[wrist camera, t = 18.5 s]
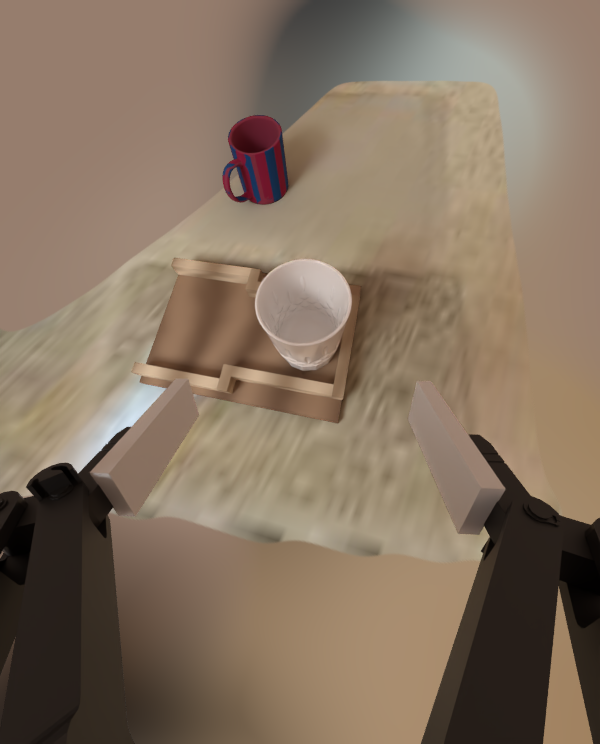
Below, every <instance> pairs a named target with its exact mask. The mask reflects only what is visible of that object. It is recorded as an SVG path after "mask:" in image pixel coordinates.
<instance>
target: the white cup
mask: <svg viewBox="0 0 600 744" xmlns="http://www.w3.org/2000/svg"><path fill="white" fill-rule="evenodd" d="M351 306H352V295H351V290H350V287H349V285H348V283H347V281H346V279H345V278H344V276H343V275H342V274H341V273H340V272H339V271H338V270H337V269H336V268H334V267H333V266H331V265H329V264H327V263H325V262H322V261H319V260H314V259H296V260H292V261H288V262H286V263H283V264H281V265H279V266H278V267H276V268H274V269H273V270H272V271H271V272H270V273H268V274H267V276H266V277H265V278H264V279H263V281H262V282H261V284H260V286H259V288H258V290H257V293H256V298H255V310H256V315H257V318H258V320H259V322H260V324H261V326H262V327H263V329H264V330H265V332H266V334H267V335H268V337H269V338H270V340H271V341H272V343H273V345H274V346H275V348H276V349H277V350H278V352H279V353H280V354H281V356H282V357H283V358H284V359H285V360H286V361H287V362H288V363H289V364H290V365H291V366H292V367H295V368H297V369H300V370H302V371H309V370H317V369H319V368H321V367H323V366H325V365H327V364H328V363H329V361H330V360H331V359H332V357H333V356H334V355H335V353H336V350H337V348H338V346H339V343H340V340H341V338H342V335H343V333H344V329H345V326H346V323H347V320H348V317H349V314H350V311H351Z"/></svg>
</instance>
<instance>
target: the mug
mask: <svg viewBox="0 0 600 744" xmlns="http://www.w3.org/2000/svg"><path fill="white" fill-rule="evenodd" d="M228 142H229V145H230V148H231V152H232V155H233V158H234V160H232V161H230V162H229V163H228V164H227V166H226V167H225V168H224V171H223V184H224V188H225V191H226V193H227V195H228V196H229V197H230V198H231V199H232V200H234V201H236V202H245V201H247V200H250V201H252V202H254V203H257V204H270V203H273V202H276V201H278V200H279V199H281V198H282V197H283V196H284V194H285V193H286V191H287V189H288V178H287V169H286V161H285V153H284V145H283V137H282V130H281V126H280V125H279V123H278V122H277V121H276V120H274V119H273V118H271V117H268V116H264V115H255V116H250V117H247V118H244V119H242V120H240V121H239V122H237V123H236V124H235V125H234V126H233V127H232V129H231V130H230V132H229V136H228ZM235 167H237V171H238V174H239V178H240V181H241V184H242V187H243V191H244V194H243V195H241V196H238V197H235V196H234V195H233V193H232V191H231V188H230V174H231V171H232V170H233V169H234V168H235Z"/></svg>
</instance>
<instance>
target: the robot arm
mask: <svg viewBox="0 0 600 744" xmlns="http://www.w3.org/2000/svg"><path fill="white" fill-rule="evenodd" d="M198 416H199V413H198V409H197V406H196V403H195V399H194V396H193V393H192V389H191V386H190V383H189V379H175V380H174V381H173V382H172V383H171V385H170V386H169V387H168V388H167V389H166V390H165V391H164V392H163V393H162V394H161V395H160V397H159V398H158V399H157V400H156V401H155V402H154V403H153V404H152V405H151V406H150V407H149V409H148V410H147V411H146V412H145V413H144V414H143V415H142V416H141V417H140V418H139V419H138V420H137V422H136V423H135V424H134V425H133V426H132V427H126V428H125V429H123V430H122V431H120V432H119V433H117V434H116V435H115V436H114V437H113V438H112V439H111V440H110V441H109V442H108V444H106V445H105V446H104V447H103V448H102V451H100V452H99V453H98V454H97V455H96V456H95V457H94V458H93V459H92V460H91V461H90V462H89V463H88V464H87V465H86V466H85V467H84V468H83V469H82V470H81V471H80V472H79V473H77V472H76V470H75V469H74V468H73V466H72V465H71V464H69V463H59V464H56V465H52V466H50V467H48V468H46V469H44V470H42V471H41V472H39V473H38V474H36V475H35V476H34V477H33V478H32V479H31V480H30V481H29V483H28V484H27V486H26V488H27V489H28V490H29V491H30V492H31V493H32V494H33V495H34V496H32V497H27V498H23V497H22V496H21V495H20V494H19V493H18V492H16V491H8V492H4V493H1V494H0V554H1V552H2V551H3V552H4V553H3V555H2V557H1V558H0V674H1V672H2V669H3V667H4V664H5V661H6V659H7V657H8V654H9V651H10V649H11V646H12V644H13V641H14V639H15V636H16V639H15V644H14V650H13V656H12V663H11V668H10V674H9V680H8V686H7V692H6V698H5V704H4V709H3V715H2V721H1V727H0V744H134V741H133V739H132V736H131V734H130V731H129V728H128V723H127V715H126V702H125V691H124V679H123V667H122V656H121V645H120V632H119V620H118V608H117V597H116V585H115V574H114V563H113V550H112V538H111V526H110V519H109V517H108V513H109V512H110V511H111V509H112V508H114V510H115V511H116V513H117V514H118V516H136V515H137V513H138V512H139V510H140V508H141V507H142V505H143V504H144V502H145V500H146V499H147V497H148V496H149V494H150V492H151V491H152V489H153V488H154V486H155V484H156V483H157V481H158V480H159V478H160V476H161V475H162V473H163V472H164V470H165V469H166V467H167V465H168V464H169V462H170V461H171V459H172V457H173V456H174V454H175V453H176V451H177V449H178V448H179V446H180V445H181V443H182V441H183V440H184V438H185V437H186V435H187V433H188V432H189V430H190V429H191V427H192V425H193V424H194V422H195V421H196V419H197V418H198ZM408 420H409V423H410V425H411V427H412V430H413V432H414V434H415V436H416V439H417V441H418V443H419V446H420V448H421V450H422V452H423V455H424V457H425V459H426V462H427V464H428V466H429V468H430V471H431V473H432V475H433V478H434V480H435V482H436V484H437V487H438V489H439V491H440V493H441V496H442V498H443V500H444V503H445V505H446V507H447V509H448V512H449V514H450V516H451V519H452V521H453V523H454V525H455V528H456V530H457V532H458V534H477V535H479V534H480V532H481V530H482V529H483V527H484V526H485V528H486V530H487V532H488V534H489V536H490V537H489V539H488V541H487V542H486V544H485V545H484V547H483V548H482V550H481V552H482V553H483V556H482V559H481V562H480V565H479V568H478V571H477V574H476V577H475V580H474V583H473V586H472V589H471V592H470V595H469V598H468V601H467V604H466V608H465V611H464V614H463V617H462V620H461V623H460V626H459V629H458V632H457V635H456V638H455V641H454V644H453V647H452V650H451V654H450V656H449V660H448V662H447V666H446V669H445V672H444V675H443V678H442V681H441V684H440V687H439V690H438V693H437V696H436V699H435V702H434V705H433V709H432V711H431V715H430V717H429V721H428V724H427V727H426V730H425V733H424V736H423V739H422V742H421V744H543V736H544V726H545V717H546V707H547V696H548V687H549V677H550V666H551V656H552V646H553V635H554V626H555V616H556V606H557V596H558V586H559V589H560V593H561V598H562V603H563V607H564V612H565V616H566V621H567V625H568V630H569V634H570V639H571V644H572V648H573V653H574V657H575V662H576V667H577V671H578V676H579V680H580V685H581V689H582V694H583V698H584V703H585V708H586V712H587V717H588V721H589V726H590V731H591V735H592V740H593V744H600V518H598V519H597V520H596V521H595V522H594V523H593V524H592V525H589V524H586V523H583V522H579V521H576V520H572V519H569V518H566V517H563V516H560V515H559V514H558V513H557V512H556V511H555V510H554V509H553V508H552V507H551V506H550V505H548V504H547V503H545V502H543V501H542V500H540V499H537V498H535V497H532V496H530V495H529V493H528V492H527V491H526V489H525V488H524V487H523V485H522V484H521V483H520V481H519V480H518V479H517V478H516V476H515V475H514V474H513V472H512V471H511V470H510V468H509V467H508V466H507V464H505V463H504V460H503V459H502V458H501V457H500V455H498V453H497V451H496V450H495V449H494V447H493V446H492V445H491V443H489V442H488V441H487V440H485V439H484V438H483V437H481V436H480V435H468V434H467V432H466V431H465V429H464V428H463V426H462V425H461V424H460V422H459V421H458V419H457V418H456V416H455V415H454V413H453V412H452V410H451V409H450V408H449V406H448V405H447V403H446V402H445V400H444V399H443V397H442V396H441V394H440V393H439V392H438V390H437V389H436V387H435V386H434V384H433V383H432V381H417V382H416V386H415V391H414V395H413V399H412V404H411V408H410V412H409V417H408Z"/></svg>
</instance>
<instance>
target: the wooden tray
mask: <svg viewBox="0 0 600 744" xmlns="http://www.w3.org/2000/svg"><path fill="white" fill-rule="evenodd" d="M171 266H172V267H173V269H174V270H175V271H176V272H177V273H178V274H179V275H178V277H177V280H176V283H175V286H174V288H173V291H172V294H171V297H170V299H169V302H168V305H167V308H166V310H165V313H164V316H163V319H162V321H161V324H160V327H159V330H158V332H157V335H156V338H155V341H154V343H153V346H152V349H151V352H150V354H149V357H148V360H147V363H146V364H142V363H136V362H135V363H134V366H133V369H132V371H131V372H132V373H135V374H138V375H141V379H140V383H144V384H148V385H153V386H158V387H163V388H168V387H169V386H170V385H171V383H172V382H173V381H174V380H175V379H189V383H190V386H191V389H192V393H193V394H197V395H202V396H207V397H212V398H217V399H222V400H227V401H231V402H236V403H241V404H246V405H251V406H256V407H261V408H266V409H271V410H276V411H280V412H285V413H290V414H295V415H300V416H305V417H310V418H315V419H320V420H324V421H329V422H334V423H338V420H339V414H340V408H341V402H342V399H343V396H344V390H345V384H346V378H347V372H348V366H349V361H350V355H351V349H352V343H353V337H354V331H355V325H356V319H357V313H358V307H359V301H360V290H361V286H357V285H350V284H348V285H349V287H350V290H351V295H352V306H351V311H350V314H349V317H348V320H347V323H346V326H345V329H344V333H343V335H342V338H341V340H340V343H339V346H338V348H337V350H336V353H335V355H334V356H333V357H332V359H331V360H330V361H329V363H328V364H327V365H325V366H323V367H321V368H319V369H317V370H309V371H302V370H300V369H297V368H295V367H292V366H291V365H290V364H289V363H288V362H287V361H286V360H285V359H284V358H283V357H282V356H281V354H280V353H279V352H278V350H277V349H276V348H275V346H274V345H273V343H272V341H271V340H270V338H269V337H268V335H267V334H266V332H265V330H264V329H263V327H262V326H261V324H260V322H259V320H258V318H257V315H256V310H255V298H256V293H257V290H258V288H259V286H260V284H261V282H262V281H263V279H264V278H265V277H266V276H267V274H268V273H262V272H261V269H254V268H246V267H239V266H232V265H224V264H217V263H209V262H202V261H195V260H187V259H180V258H174V259H173V262H172V264H171Z"/></svg>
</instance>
